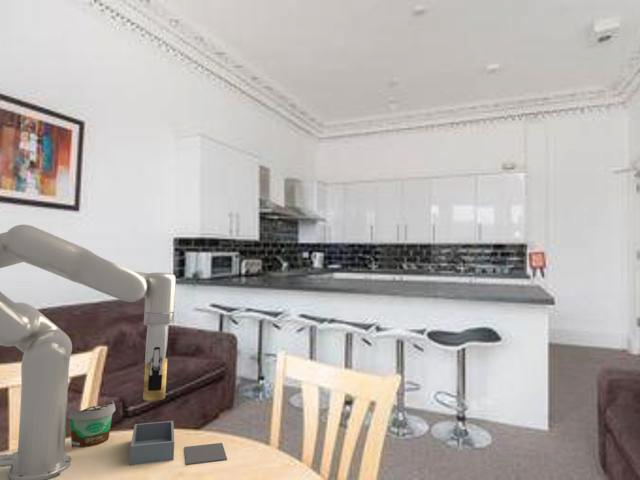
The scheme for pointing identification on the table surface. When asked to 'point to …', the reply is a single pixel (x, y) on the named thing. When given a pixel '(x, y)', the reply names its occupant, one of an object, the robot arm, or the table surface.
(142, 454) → the slate open box
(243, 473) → the table surface
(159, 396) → the mustard cylinder
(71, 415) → the food container
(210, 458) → the gray square plate
